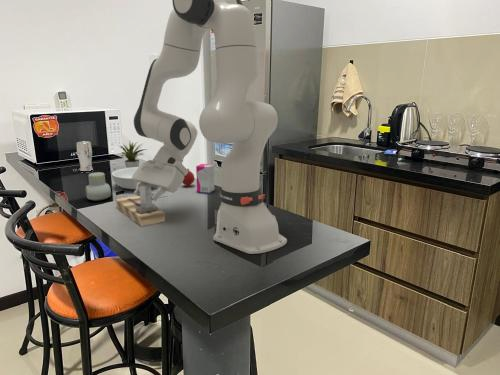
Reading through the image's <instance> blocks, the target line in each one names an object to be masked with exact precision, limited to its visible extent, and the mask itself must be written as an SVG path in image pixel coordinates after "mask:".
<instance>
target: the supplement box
mask: <svg viewBox="0 0 500 375" xmlns="http://www.w3.org/2000/svg"><path fill="white" fill-rule="evenodd" d="M195 171H196V173H195V174H196V193H197V194H205V195H206V194H208V195H209V194H212V193H213V192H215V190H216V189H215V164H214V163H213V164H212V163H211V164H210V163H201V164H198V165H196V170H195Z"/></svg>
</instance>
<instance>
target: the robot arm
mask: <svg viewBox="0 0 500 375" xmlns="http://www.w3.org/2000/svg"><path fill="white" fill-rule="evenodd" d="M172 7H173V8H172V10H171V11H170V14H169V17H168V21H167V23H166V28H165V32H164V37H163V45H162V49H161V52H160V54H159V55H158V57H157V58H155V59H154V60H153V61H152V62H151V64H150V66H149V69H148V72H147V75H146V76H147V77H146V79H145V83H144V86H143V91H142V94H141V98H140V102H139V105H138V108H137V111H136V112H135V114H134V116H133V126H134V129H135V131H136V133H137V135H138V136H140V137H144V138H148V139H152V140H154V141H158V142H160V143H163V145H162V146H160V148H159V150H158V151H157V152H156V154H155V155H154V157H153V158H152V160H151V159H148V160H147V161H144V162H142V163H141V164H139V168H138V169H137V170H136V171H135V173H134V174H133V176H132V179H133V180H134V181H135V182H137V186H136V190H134V191H133V194H134V196H139V197H140V189H139V186H143V185H147V186H151V188H154V189H157V190H156V191H155V192H153V193H152V195H151V196H150V199H152V201H154V202H156V201H158V199H159V198H160V197H161V196H162V195H164V194H165V192H170V193H175V192H177V191H178V190H179V189H180V187H181V185H183V183H182V182H183V180H184V176H186V175H187V173H188V170H187V169H188V168H186V166H184V165H183V162H184V158H185V157H186V156H187V155H189V152H190V151H191V149H192V148H193V146H194V144H195V142H196V140H197V137H198V129H197V128H196V126H195V125H194V124H193V123H192V122H190V121H188V120H186V119H185V118H182V117H179V116H177V115H175V114H171V113H169V112H164V111H162V110H160V109H159V108H158V104H159V100H160V96H161V93H162V91H163V90H162V89H163V86H164V85H165V83H166V82H167V81H169V80H171V79H176V78H184V77H187V76H189V75H191V74H193V73H194V71H196V69H197V67H198V65H199V61H200V56H201V50H202V43H203V42H202V41H203V37H204V35H205V33H206V32H207V31H209V30H211V31H212V32H213V36H214V45H215V67H216V79H215V80H216V81H215V87H214V90H213V94H212V97H211V99H210V101H209V103H207V105H206V106H205V107H203V109H202V111H201V113H200V115H199V120H198V126H199V130H200V132H201V134H202V136H203V138H204V139H206V141H208V142H211V143H218V144H230V143H232V146H231V149H230V151H229V152H228V154H227V155H226V156H225V157H224V158H223V159H222V162H221V165H220V166H221V169H220V170H221V172H220V173H221V176H220V177H221V178H220V179H221V186H220V190H219V201H220V202H221V203H220V205H219V208H218V211H217V217H216V229H215V230H216V231H215V233H214V235H212V236H213V237H212V239H213V241H215V242H217V243H218V242H219V243H221V244H223V245H226V246H227V247H230V248H233V249H236V250H238V251H241V252H243V253H246V254H249V255H250V254H251V255H253V254H254V255H255V254H262V253H268V252H271V251H274V250H277V249H279V248H282V247H283V246H285V245H286V244H287V242H288V239H287V238H286V237H285V236H284V235H282V234H280V232H279V230H280V229H279V224H278V221H277V217H276V216H275V215H274V214H272V212H270V210H269V209H268V207H267V206H266V205H265V203H264V199H265V198H266V197H265V196H266V194H263V193H262V190H261V187H260V170H261V161H262V157H263V154H264V153H263V152H264V150H265V148H266V147H265V146H266V144H267V142H268V140H269V138H270V137H271V135H273V133H274V132H275V131H276V129H277V127H278V124H279V122H278V120H279V117H278V113H277V111H276V108H274V106H273V105H271V104H270V103H266V102H263V101H260V100H249V101H247V94H248V92H249V88H250V87H251V85H252V84H254V83H255V82H256V80H257V78H258V73H259V72H258V57H257V56H258V55H257V40H256V32H255V26H254V22H253V21H254V20H253V17H252V14H251V11H250V10H249V9H248V8H247V7H246V6H244V5H243V2H242V0H172Z"/></svg>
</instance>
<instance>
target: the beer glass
mask: <svg viewBox="0 0 500 375" xmlns="http://www.w3.org/2000/svg"><path fill="white" fill-rule="evenodd" d="M76 153H77V157H78V160H79V164H80V168H79V171H91V170H93V171H94V169H93V166H92V164H93V163H92V159H93V150H92V143H91V141H90V140H89V141H87V140H86V141H85V140H84V141H83V140H82V141H77V142H76Z"/></svg>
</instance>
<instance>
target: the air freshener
mask: <svg viewBox="0 0 500 375" xmlns="http://www.w3.org/2000/svg"><path fill="white" fill-rule="evenodd" d="M87 177H88V184H87V185H85V194H86V199H88V200H89V201H93V202H94V201H102V200H103V201H104V200H107V199H108V198H110V197H111V195H112V191H111V190H112V189H111V186H110V184H109V183H107V182H106V173H104V172H98V171H97V172H90V173H89V174H88V176H87Z"/></svg>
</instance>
